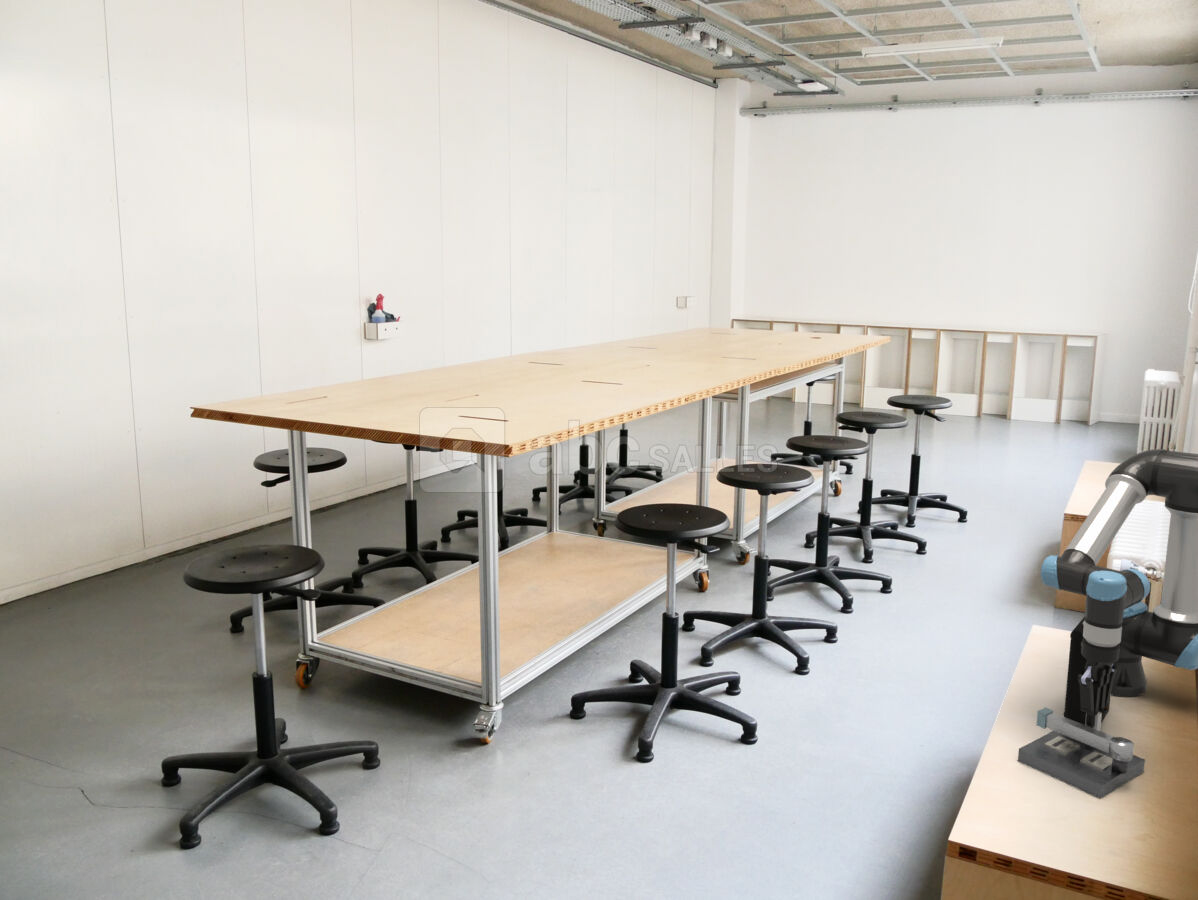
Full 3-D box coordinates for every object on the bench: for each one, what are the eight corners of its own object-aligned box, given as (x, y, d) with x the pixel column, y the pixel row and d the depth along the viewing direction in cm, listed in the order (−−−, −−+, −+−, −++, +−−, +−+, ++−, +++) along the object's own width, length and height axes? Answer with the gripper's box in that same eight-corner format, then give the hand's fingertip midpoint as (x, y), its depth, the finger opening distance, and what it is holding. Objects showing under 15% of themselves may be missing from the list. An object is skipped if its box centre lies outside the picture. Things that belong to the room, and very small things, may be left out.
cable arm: (1045, 720, 222) (1046, 706, 222) (1136, 757, 206) (1137, 742, 205) (1034, 726, 220) (1036, 711, 219) (1125, 764, 203) (1127, 748, 202)
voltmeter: (1098, 736, 227) (1108, 637, 222) (1059, 725, 233) (1068, 629, 228) (1113, 711, 239) (1122, 617, 234) (1076, 702, 245) (1084, 610, 240)
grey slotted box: (1061, 737, 227) (1063, 714, 226) (1145, 772, 211) (1148, 747, 210) (1017, 760, 217) (1019, 736, 216) (1102, 799, 201) (1105, 773, 200)
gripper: (1100, 628, 218) (1090, 723, 223) (1068, 642, 211) (1059, 740, 216) (1133, 639, 212) (1123, 736, 217) (1102, 653, 205) (1092, 753, 210)
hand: (1091, 738), depth 216 cm, fingers closed
